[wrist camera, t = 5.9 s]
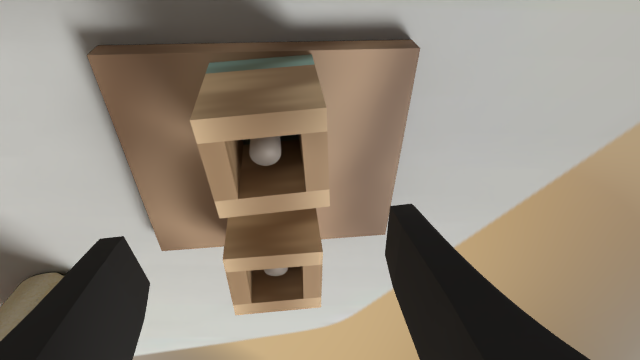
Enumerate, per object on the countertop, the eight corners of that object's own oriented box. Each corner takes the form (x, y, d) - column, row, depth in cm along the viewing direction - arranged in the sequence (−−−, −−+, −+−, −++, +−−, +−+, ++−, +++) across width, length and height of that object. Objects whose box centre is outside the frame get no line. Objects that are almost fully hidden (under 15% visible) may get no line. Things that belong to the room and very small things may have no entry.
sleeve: (311, 54, 16) (326, 107, 12) (316, 140, 18) (330, 206, 15) (209, 62, 15) (189, 120, 12) (229, 148, 18) (219, 218, 14)
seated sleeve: (311, 182, 20) (322, 251, 16) (311, 236, 23) (320, 307, 19) (231, 186, 20) (222, 259, 16) (240, 241, 22) (235, 315, 19)
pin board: (411, 39, 17) (456, 85, 13) (380, 221, 24) (403, 286, 20) (97, 45, 16) (38, 98, 12) (166, 236, 23) (144, 309, 19)
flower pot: (-31, 308, 25) (-139, 459, 19) (16, 232, 22) (-97, 387, 15) (106, 343, 30) (59, 474, 23) (164, 286, 26) (129, 422, 19)
